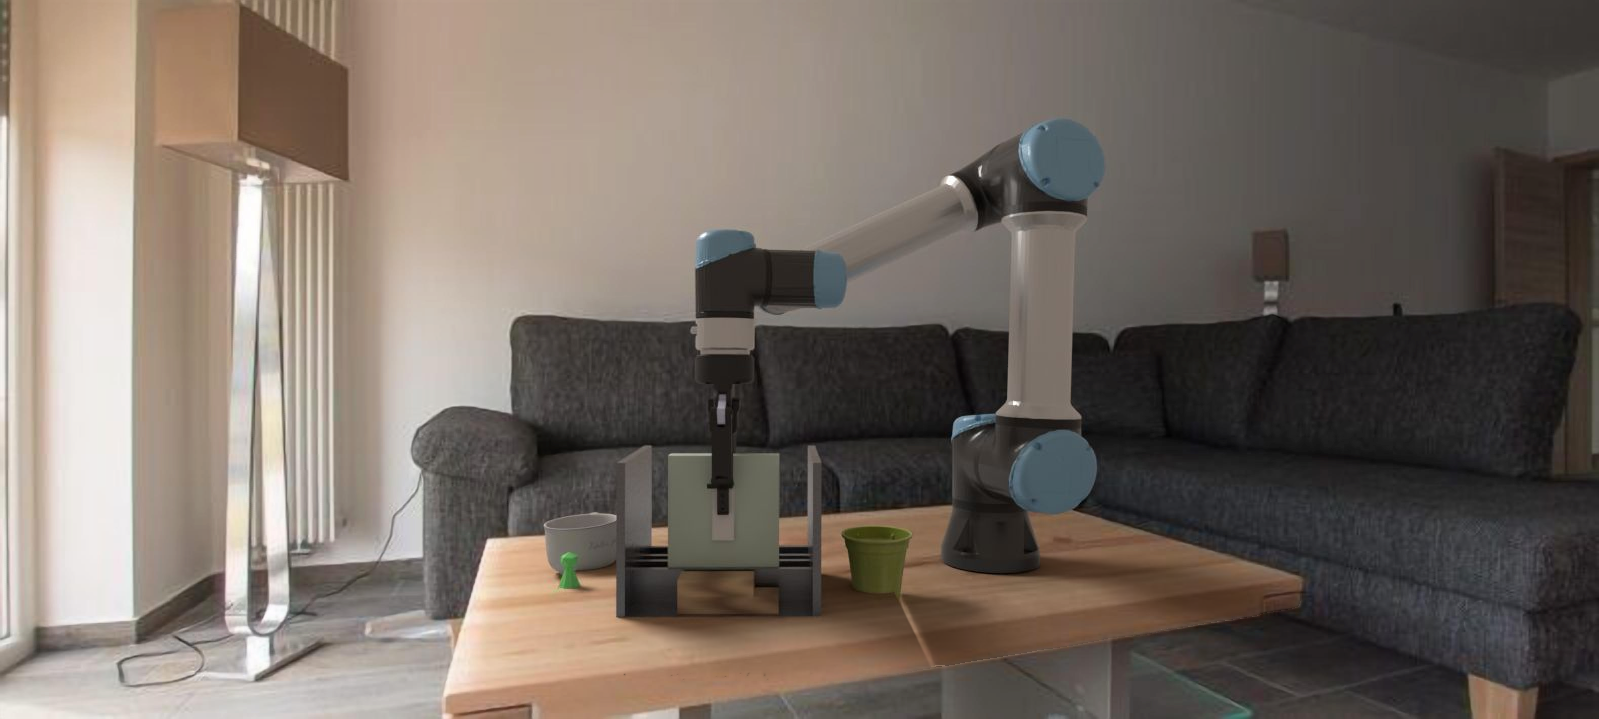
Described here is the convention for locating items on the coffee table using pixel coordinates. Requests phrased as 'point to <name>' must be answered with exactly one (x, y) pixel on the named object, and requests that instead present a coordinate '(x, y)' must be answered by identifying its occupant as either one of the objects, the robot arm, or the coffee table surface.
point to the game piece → (568, 572)
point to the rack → (654, 584)
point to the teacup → (582, 540)
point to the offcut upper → (716, 584)
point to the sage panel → (751, 512)
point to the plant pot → (877, 557)
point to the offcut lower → (732, 603)
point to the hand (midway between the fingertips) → (724, 536)
